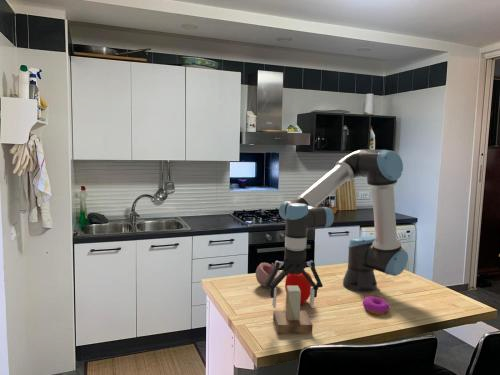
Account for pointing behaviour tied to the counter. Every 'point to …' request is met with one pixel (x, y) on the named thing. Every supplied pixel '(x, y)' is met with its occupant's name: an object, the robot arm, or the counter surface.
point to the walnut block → (292, 323)
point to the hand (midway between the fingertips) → (292, 306)
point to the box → (293, 303)
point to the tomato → (299, 284)
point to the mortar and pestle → (265, 273)
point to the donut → (375, 305)
